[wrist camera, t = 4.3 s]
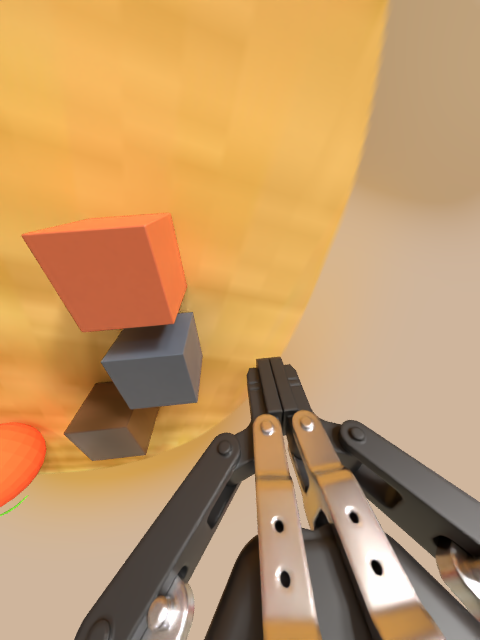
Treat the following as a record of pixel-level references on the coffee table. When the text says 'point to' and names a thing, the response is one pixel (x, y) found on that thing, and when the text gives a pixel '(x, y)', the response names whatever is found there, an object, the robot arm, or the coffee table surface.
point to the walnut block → (111, 425)
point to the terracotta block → (114, 270)
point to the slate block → (157, 364)
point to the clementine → (19, 459)
